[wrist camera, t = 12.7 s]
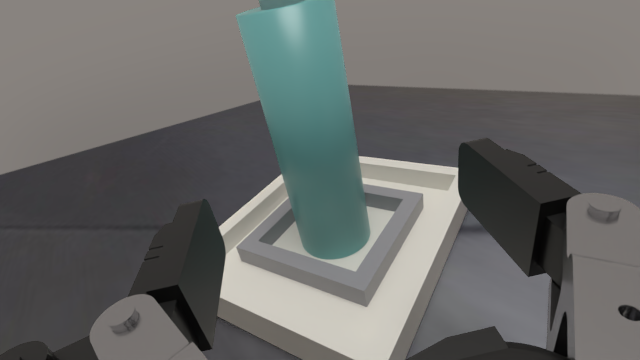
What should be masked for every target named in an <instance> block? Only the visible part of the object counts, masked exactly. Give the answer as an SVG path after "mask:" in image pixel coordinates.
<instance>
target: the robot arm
mask: <svg viewBox="0 0 640 360" xmlns="http://www.w3.org/2000/svg"><path fill="white" fill-rule="evenodd" d="M458 192H459V195H460V198H461V200H462V202H463V204H464V205H465V206H466V207H467V209H468V210H469V211H470V212H471V213H472V214H473V215H474V216H475V218H476V219H477V220H478V221H479V222H480V223H481V224H482V226H483V227H484V228H485V229H486V230H487V231H488V232H489V233H490V235H491V236H492V237H493V238H494V239H495V240H496V241H497V242H498V244H499V245H500V246H501V247H502V248H503V249H504V250H505V251H506V253H507V254H508V255H509V256H510V257H511V258H512V259H513V260H514V262H515V263H516V264H517V265H518V266H519V267H520V268H521V269H522V271H523V272H524V273H525V274H526V275H527V276H528V277H530V276H534V275H539V274H543V273H547V274H548V275H549V276H550V277H551V279H550V284H549V296H548V320H547V342H546V349H543V348H540V347H536V346H532V345H527V344H522V343H514V342H505V341H504V340H503V338H502V337H501V335H500V334H499V332H498V331H497V329H496V328H495V326H493V327H489V328H485V329H481V330H476V331H472V332H468V333H464V334H459V335H455V336H451V337H447V338H445V339H443V340H441V341H439V342H438V343H436V344H434V345H432V346H430V347H428V348H427V349H425V350H423V351H421V352H419V353H417V354H415V355H414V356H412V357H410V358H408V359H406V360H640V209H639V208H638V207H637V206H636V205H634V204H633V203H631V202H629V201H627V200H625V199H622V198H619V197H616V196H612V195H608V194H601V193H585V194H581V193H580V192H578V191H577V190H575V189H574V188H572V187H571V186H569V185H568V184H566V183H565V182H563V181H562V180H561V179H559V178H558V177H556V176H555V175H553V174H552V173H550V172H547V170H546V169H544V168H543V167H541V166H540V165H536V163H535V162H534V161H532V160H531V159H529V158H528V157H526V156H525V155H523V154H520V153H517V152H514V151H511V150H508V149H506V150H504V149H503V148H501V147H500V146H498V145H497V144H496V143H494V142H493V141H491V140H490V139H488V138H483V139H478V140H474V141H469V142H465V143H462V144H461V145H460V147H459V159H458ZM225 259H226V250H225V244H224V240H223V237H222V235H221V232H220V230H219V227H218V225H217V222H216V220H215V217H214V215H213V212H212V210H211V207H210V205H209V203H208V202H207V200H205V199H203V200H198V201H194V202H189V203H185V204H181V205H179V207H178V210H177V212H176V215H175V217H174V220H173V223H168V224H165V225H164V226H163V228H162V229H161V230H160V231H159V232H158V233H157V234H156V235H155V236H154V238H153V240H152V243H151V245H150V247H149V251H148V252H147V254H146V256H145V258H144V260H145V262H143V263H142V265H141V268H140V270H139V272H138V274H137V277H136V279H135V281H134V283H133V286H132V288H131V290H130V293H129V295H128V297H127V298H124V299H122V300H120V301H118V302H117V303H115V304H113V305H112V306H111V307H109V308H108V309H107V310H106V311H104V312H103V313H102V314H101V315H100V317H99V318H98V319H97V320H96V322H95V323H94V325H93V327H92V329H91V332H90V335H89V336H87V337H85V338H83V339H81V340H79V341H77V342H75V343H73V344H71V345H68V346H66V347H64V348H62V349H60V350H58V351H56V352H54V353H53V352H52V351H51V350H50V349H49V348H48V347H47V346H46V345H45V344H44V343H43V342H39V341H31V342H26V343H23V344H20V345H18V346H16V347H14V348H12V349H10V350H8V351H6V352H5V353H3V354H1V355H0V360H207V358H206V357H205V356H204V355H203V353H202V352H201V351H206V350H210V349H212V347H213V340H214V334H215V327H216V320H217V313H218V306H219V300H220V293H221V286H222V279H223V272H224V266H225Z"/></svg>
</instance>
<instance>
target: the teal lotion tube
mask: <svg viewBox="0 0 640 360" xmlns="http://www.w3.org/2000/svg"><path fill="white" fill-rule="evenodd" d="M259 3H260V7H258V8H255V9H251V10H248V11H245V12H242V13H240V14H238V15H236V19H237V22H238V25H239V29H240V32H241V35H242V39H243V43H244V46H245V49H246V53H247V56H248V59H249V63H250V67H251V70H252V73H253V77H254V80H255V84H256V87H257V91H258V94H259V97H260V101H261V104H262V108H263V111H264V115H265V118H266V122H267V125H268V128H269V132H270V135H271V139H272V142H273V146H274V149H275V152H276V156H277V159H278V163H279V166H280V170H281V173H282V177H283V180H284V183H285V187H286V190H287V194H288V197H289V201H290V204H291V207H292V211H293V214H294V218H295V221H296V225H297V228H298V231H299V235H300V238H301V242H302V245H303V247H304V249H305V250H306V251H307V252H308V253H309V254H310V255H312V256H314V257H317V258H321V259H339V258H344V257H347V256H350V255H352V254H354V253H356V252H357V251H359V250H360V249H361V248H362V247H363V246H364V245H365V244H366V243H367V241H368V239H369V237H370V226H369V219H368V213H367V206H366V200H365V193H364V187H363V181H362V174H361V168H360V161H359V155H358V148H357V142H356V135H355V129H354V123H353V116H352V110H351V103H350V97H349V90H348V84H347V77H346V71H345V65H344V58H343V52H342V45H341V39H340V32H339V26H338V19H337V13H336V7H335V0H259Z"/></svg>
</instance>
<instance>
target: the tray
mask: <svg viewBox="0 0 640 360" xmlns="http://www.w3.org/2000/svg"><path fill="white" fill-rule="evenodd" d="M359 161H360V168H361V174H362V181H363V187H364V193H365V200H366V206H367V213H368V219H369V226H370V237H369V239H368V241H367V243H366V244H365V245H364V246H363V247H362V248H361V249H360V250H359V251H357V252H356V253H354V254H352V255H350V256H347V257H344V258H339V259H321V258H317V257H314V256H312V255H310V254H309V253H308V252H307V251H306V250H305V249H304V247H303V245H302V242H301V238H300V235H299V231H298V228H297V225H296V221H295V218H294V214H293V211H292V207H291V204H290V201H289V197H288V194H287V190H286V187H285V183H284V180H283V177H282V174H281V175H280V176H279V177H278V178H276V179H275V180H274V181H273V182H272V183H271V184H269V185H268V186H267V187H266V188H265V189H263V190H262V191H261V192H260V193H259V194H257V195H256V196H255V197H254V198H253V199H252V200H250V201H249V202H248V203H247V204H246V205H244V206H243V207H242V208H241V209H240V210H239V211H237V212H236V213H235V214H234V215H233V216H231V217H230V218H229V219H228V220H227V221H225V222H224V223H223V224H222V225H221V226H220V227H219V230H220V232H221V235H222V237H223V240H224V244H225V250H226V259H225V266H224V272H223V279H222V286H221V293H220V300H219V306H218V313H217V316H218V317H220V318H222V319H223V320H225V321H227V322H229V323H231V324H233V325H235V326H237V327H239V328H241V329H243V330H245V331H247V332H249V333H251V334H253V335H255V336H257V337H259V338H261V339H263V340H265V341H267V342H269V343H271V344H273V345H275V346H277V347H278V348H280V349H282V350H284V351H286V352H288V353H290V354H292V355H294V356H296V357H298V358H300V359H302V360H405V359H406V356H407V354H408V351H409V349H410V347H411V344H412V342H413V339H414V337H415V335H416V332H417V330H418V327H419V325H420V323H421V320H422V318H423V316H424V313H425V311H426V308H427V306H428V304H429V301H430V299H431V296H432V294H433V292H434V289H435V287H436V284H437V282H438V280H439V277H440V275H441V272H442V270H443V268H444V265H445V263H446V260H447V258H448V256H449V253H450V251H451V248H452V246H453V244H454V241H455V239H456V236H457V234H458V232H459V229H460V227H461V224H462V222H463V220H464V217H465V215H466V212H467V210H468V209H467V207H466V206H465V205H464V204H463V202H462V200H461V198H460V195H459V192H458V168H454V167H446V166H437V165H429V164H421V163H412V162H404V161H396V160H387V159H379V158H370V157H362V156H359Z"/></svg>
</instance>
